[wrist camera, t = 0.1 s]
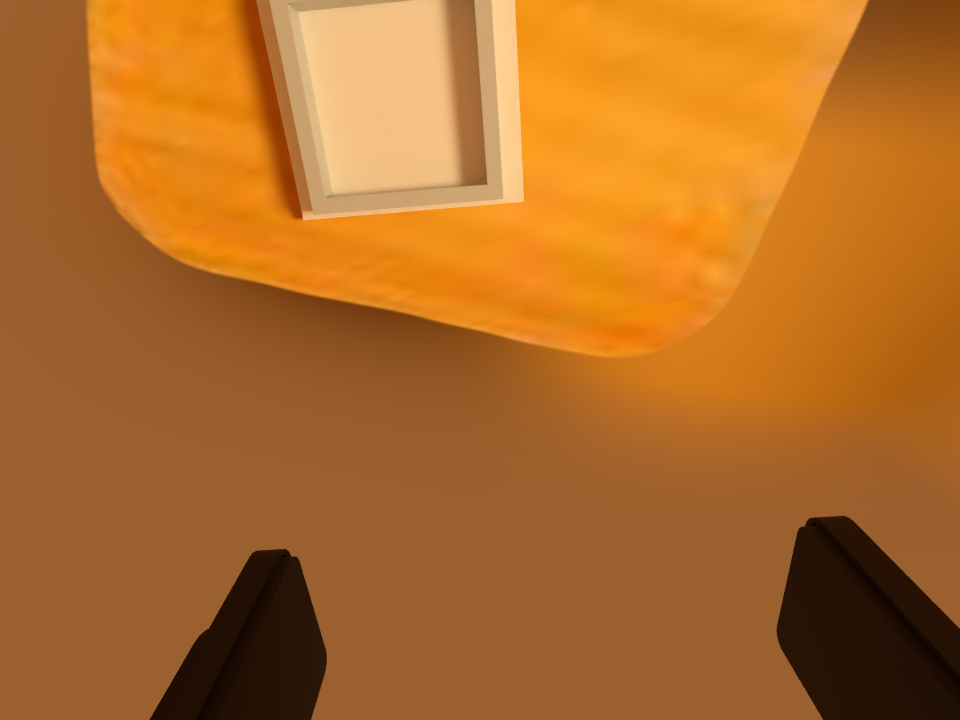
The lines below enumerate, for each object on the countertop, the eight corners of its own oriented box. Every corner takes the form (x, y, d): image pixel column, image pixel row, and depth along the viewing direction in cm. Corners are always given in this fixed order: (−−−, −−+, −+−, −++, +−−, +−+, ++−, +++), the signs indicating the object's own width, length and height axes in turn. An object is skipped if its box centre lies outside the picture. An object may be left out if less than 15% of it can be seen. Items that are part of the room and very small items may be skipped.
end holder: (259, -9, 32) (238, -24, 29) (512, -35, 31) (514, -52, 28) (307, 218, 37) (293, 224, 34) (522, 200, 36) (525, 204, 34)
